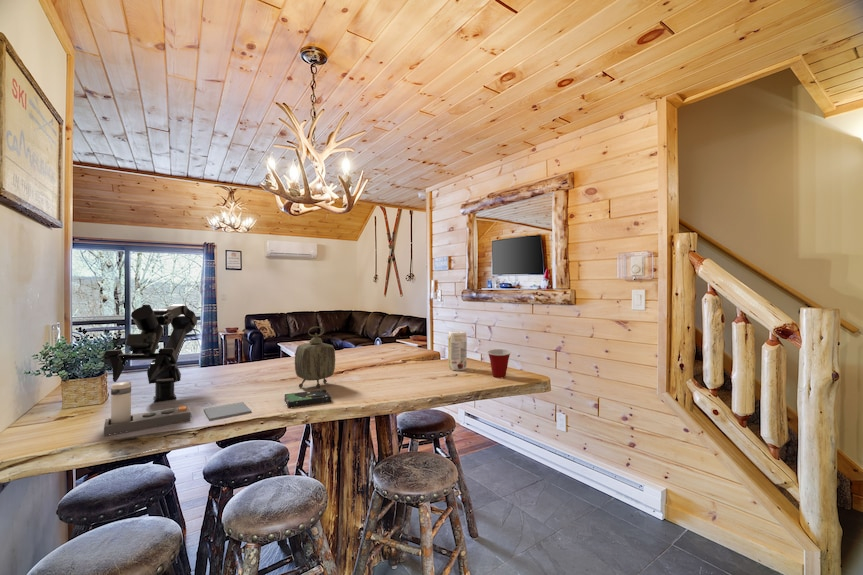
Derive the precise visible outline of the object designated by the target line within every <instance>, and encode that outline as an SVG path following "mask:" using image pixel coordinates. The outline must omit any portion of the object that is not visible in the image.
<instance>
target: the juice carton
mask: <svg viewBox="0 0 863 575" xmlns="http://www.w3.org/2000/svg"><path fill="white" fill-rule="evenodd" d="M447 337H448V338H447V365H448V368H449V369H450V370H451V369H452V370H451V371H453V370H456V371H466V369H467V356H468V355H467V354H468V353H467V352H468V351H467V346H468V345H467V344H468V342H467V341H468V340H467V339H468V337H467V333H466V332H465V331H463V330H460V331H448V336H447Z"/></svg>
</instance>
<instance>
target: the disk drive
mask: <svg viewBox="0 0 863 575" xmlns="http://www.w3.org/2000/svg"><path fill="white" fill-rule="evenodd" d="M285 402H286V403H285ZM284 403H285V404H287V405H286V407H287V409H290V408H291V407H292V408H298V407H299V406H300V407H305V406H306V405H307V406H312V405H313V406H314V405H321V404H327V403H329V404H330V403H332V395H330V394H329V392H327V390H326V389H318V390H309V391H301V392H292V393H286V394H284Z"/></svg>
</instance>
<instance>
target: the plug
mask: <svg viewBox="0 0 863 575" xmlns="http://www.w3.org/2000/svg"><path fill="white" fill-rule="evenodd" d="M131 415H132V382H130V381H123V382H122V381H121V382H114V383H111V385H110V418H111V424H117V423H123V422H129V421H131Z"/></svg>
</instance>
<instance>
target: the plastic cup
mask: <svg viewBox="0 0 863 575" xmlns="http://www.w3.org/2000/svg"><path fill="white" fill-rule="evenodd" d="M511 353H512V351H511V350H508V349H502V348H501V349H500V348H499V349H497V348H495V349H489V350H487V354H488V357H489V362H490V367H491V373H492V376H493V378H496V379H502V378H506V376H507V371H508V365H509V361H510V360H509V359H510V356H511Z"/></svg>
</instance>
